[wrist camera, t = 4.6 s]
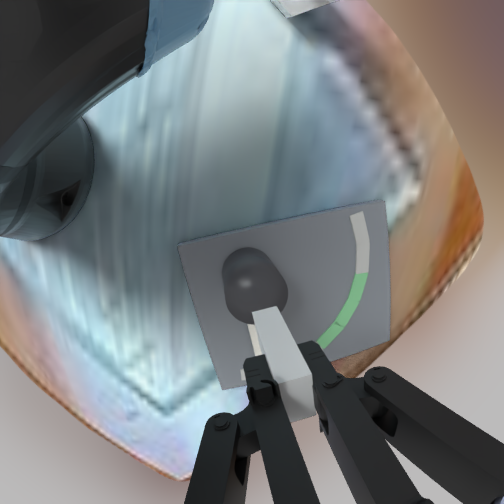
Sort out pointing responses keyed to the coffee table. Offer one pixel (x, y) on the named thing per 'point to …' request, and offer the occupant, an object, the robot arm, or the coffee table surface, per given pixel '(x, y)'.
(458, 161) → the coffee table surface
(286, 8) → the white faucet
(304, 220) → the tuner board
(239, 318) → the white and grey lever
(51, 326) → the coffee table surface
